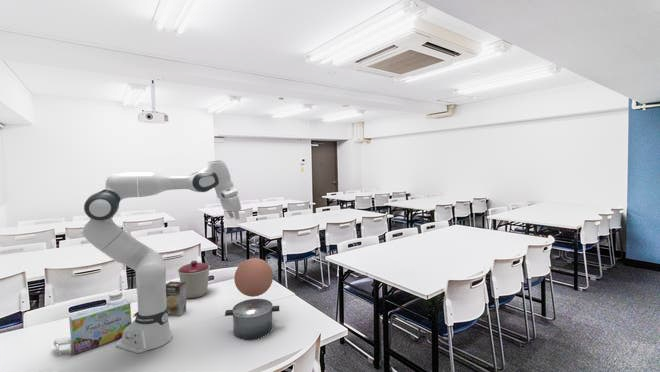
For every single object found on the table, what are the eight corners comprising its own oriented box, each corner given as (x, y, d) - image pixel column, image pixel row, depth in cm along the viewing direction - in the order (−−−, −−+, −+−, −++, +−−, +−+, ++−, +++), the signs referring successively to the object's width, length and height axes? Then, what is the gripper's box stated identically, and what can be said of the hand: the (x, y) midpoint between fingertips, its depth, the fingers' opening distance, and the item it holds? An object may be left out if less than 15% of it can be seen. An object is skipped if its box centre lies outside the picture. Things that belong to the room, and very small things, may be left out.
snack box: (74, 355, 127) (71, 320, 127) (71, 350, 131) (68, 316, 130) (132, 333, 143) (130, 302, 143) (128, 330, 147) (126, 299, 146)
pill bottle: (104, 323, 154) (102, 294, 153) (121, 316, 161) (120, 288, 160) (113, 327, 150) (111, 297, 149) (130, 320, 157) (128, 291, 156)
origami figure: (86, 344, 135) (85, 334, 135) (69, 356, 127) (68, 344, 126) (60, 345, 135) (59, 334, 135) (41, 356, 127) (40, 345, 127)
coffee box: (163, 315, 161) (162, 285, 160) (171, 310, 168) (170, 281, 166) (180, 316, 160) (179, 286, 159) (187, 310, 167) (186, 281, 166)
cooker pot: (222, 343, 135) (222, 319, 135) (229, 321, 154) (228, 300, 154) (280, 337, 140) (279, 313, 139) (279, 316, 158) (279, 296, 158)
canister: (184, 304, 174) (182, 267, 173) (174, 294, 188) (173, 260, 186) (215, 294, 187) (214, 260, 185) (204, 286, 200) (203, 254, 199)
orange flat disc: (233, 260, 154) (234, 258, 157) (234, 298, 154) (235, 296, 157) (272, 257, 158) (272, 256, 161) (273, 295, 157) (273, 293, 160)
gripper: (214, 194, 158) (223, 219, 161) (225, 194, 141) (235, 222, 144) (226, 190, 162) (234, 214, 164) (238, 190, 145) (247, 217, 147)
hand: (235, 218), depth 154 cm, fingers open, 8 cm apart
